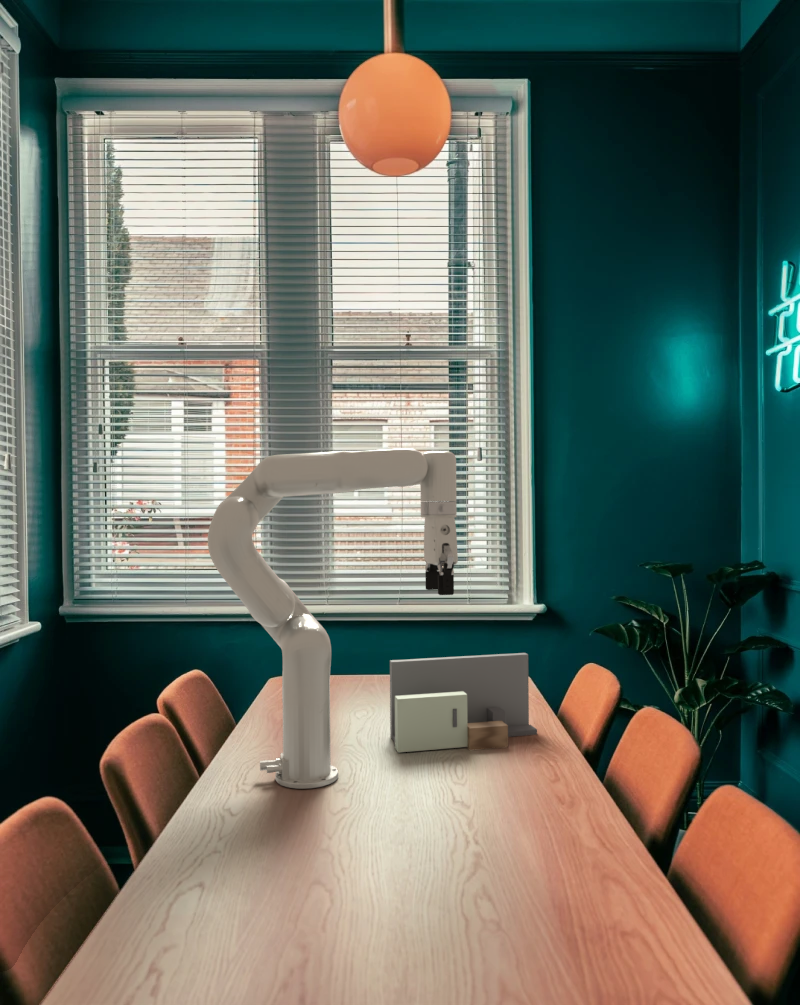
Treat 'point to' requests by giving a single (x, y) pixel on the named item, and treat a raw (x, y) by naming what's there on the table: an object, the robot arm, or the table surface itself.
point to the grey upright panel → (470, 686)
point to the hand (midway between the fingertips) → (439, 592)
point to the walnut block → (487, 735)
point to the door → (431, 721)
